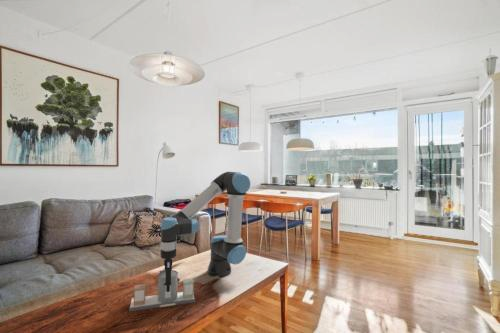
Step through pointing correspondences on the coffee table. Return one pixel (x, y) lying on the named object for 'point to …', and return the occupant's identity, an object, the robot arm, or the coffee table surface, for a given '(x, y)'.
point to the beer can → (162, 287)
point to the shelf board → (154, 303)
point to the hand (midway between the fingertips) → (167, 290)
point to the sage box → (188, 288)
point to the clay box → (139, 294)
